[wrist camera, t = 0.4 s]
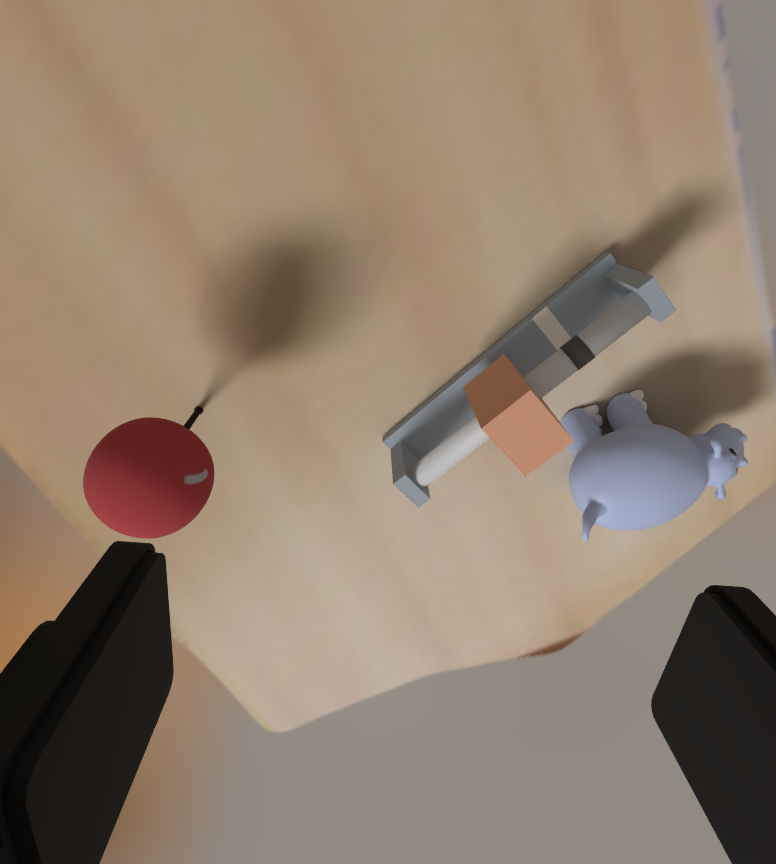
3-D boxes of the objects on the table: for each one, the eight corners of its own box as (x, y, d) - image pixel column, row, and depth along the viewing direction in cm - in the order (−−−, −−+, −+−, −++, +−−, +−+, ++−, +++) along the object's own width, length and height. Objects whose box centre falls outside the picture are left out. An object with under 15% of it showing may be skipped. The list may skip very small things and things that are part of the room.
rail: (382, 436, 47) (384, 475, 41) (605, 251, 40) (646, 264, 34) (419, 472, 48) (426, 515, 42) (638, 299, 42) (683, 321, 36)
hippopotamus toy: (714, 469, 49) (786, 531, 41) (556, 516, 51) (593, 585, 43) (705, 365, 45) (784, 410, 36) (532, 421, 47) (568, 476, 38)
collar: (463, 387, 42) (481, 428, 35) (503, 354, 41) (530, 389, 34) (501, 429, 43) (525, 476, 37) (541, 398, 42) (573, 440, 36)
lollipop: (215, 464, 47) (154, 580, 34) (137, 416, 45) (38, 519, 32) (263, 402, 45) (218, 501, 31) (183, 348, 43) (96, 428, 29)
